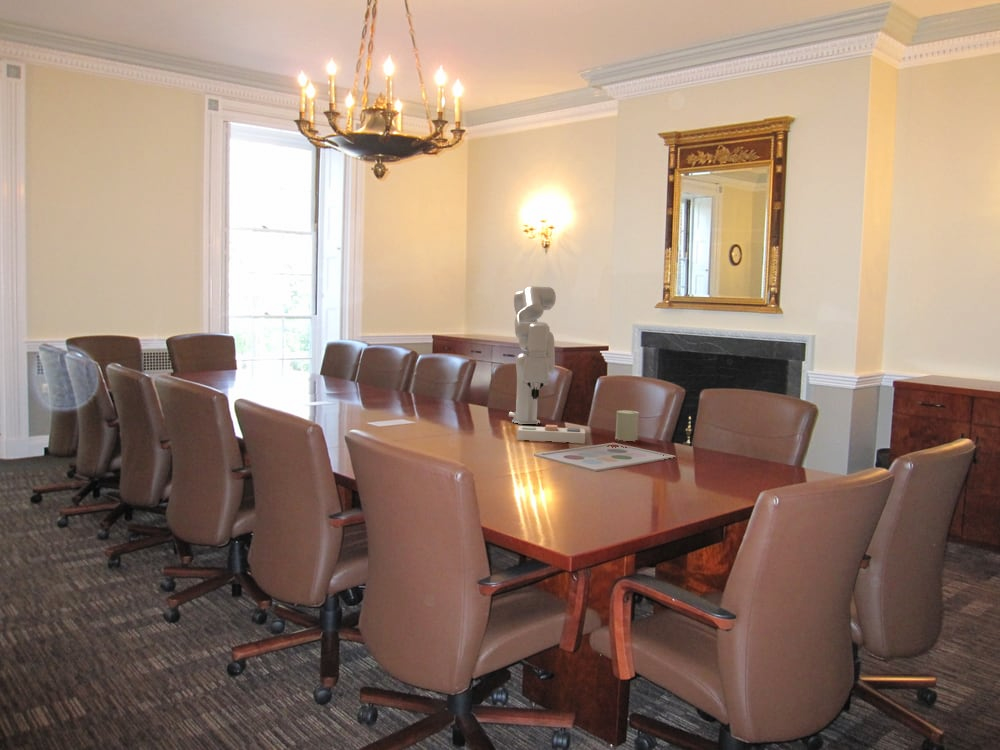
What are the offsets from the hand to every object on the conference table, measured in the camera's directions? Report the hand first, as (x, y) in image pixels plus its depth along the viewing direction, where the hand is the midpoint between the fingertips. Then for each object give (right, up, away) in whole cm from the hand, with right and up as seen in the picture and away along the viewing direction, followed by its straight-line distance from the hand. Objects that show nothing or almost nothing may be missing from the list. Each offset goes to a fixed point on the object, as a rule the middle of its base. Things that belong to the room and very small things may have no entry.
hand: (534, 398), depth 344 cm
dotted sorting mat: (+24, -21, -36) cm, 48 cm away
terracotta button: (+6, -14, -5) cm, 16 cm away
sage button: (-3, -15, -4) cm, 16 cm away
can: (+38, -17, +1) cm, 41 cm away
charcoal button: (+15, -16, -5) cm, 23 cm away
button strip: (+6, -16, -5) cm, 18 cm away
